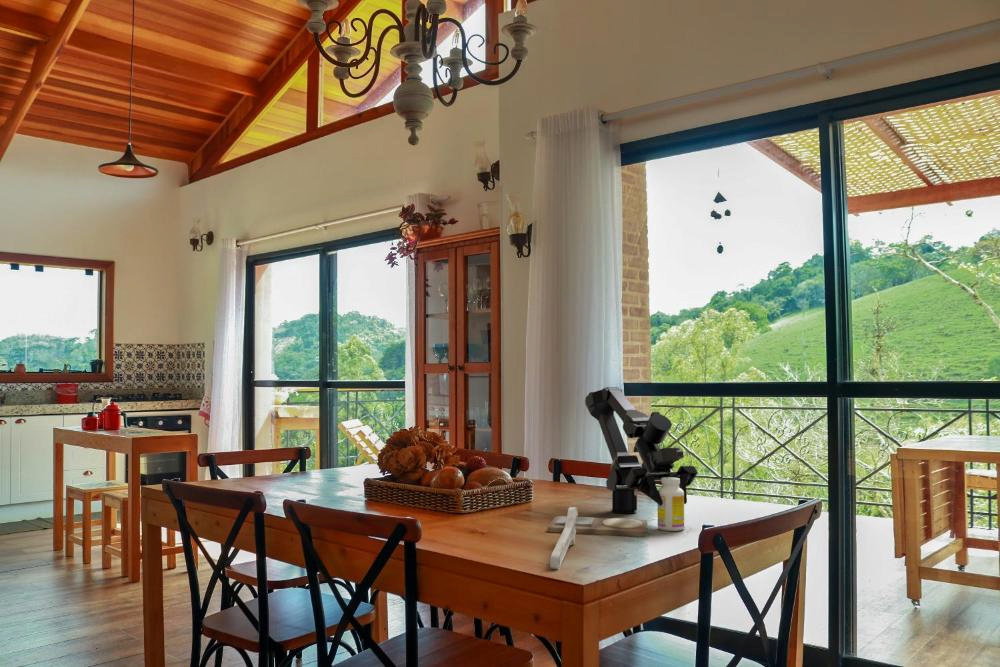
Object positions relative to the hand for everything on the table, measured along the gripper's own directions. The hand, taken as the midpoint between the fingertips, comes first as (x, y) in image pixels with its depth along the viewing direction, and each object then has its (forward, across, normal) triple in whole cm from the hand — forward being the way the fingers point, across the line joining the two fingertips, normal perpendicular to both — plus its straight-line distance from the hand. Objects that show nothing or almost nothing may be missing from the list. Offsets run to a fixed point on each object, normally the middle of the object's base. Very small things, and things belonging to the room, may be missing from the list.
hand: (673, 503), depth 210 cm
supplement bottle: (+4, 0, +6) cm, 7 cm away
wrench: (+15, -36, -5) cm, 40 cm away
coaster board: (-1, -17, +10) cm, 20 cm away
